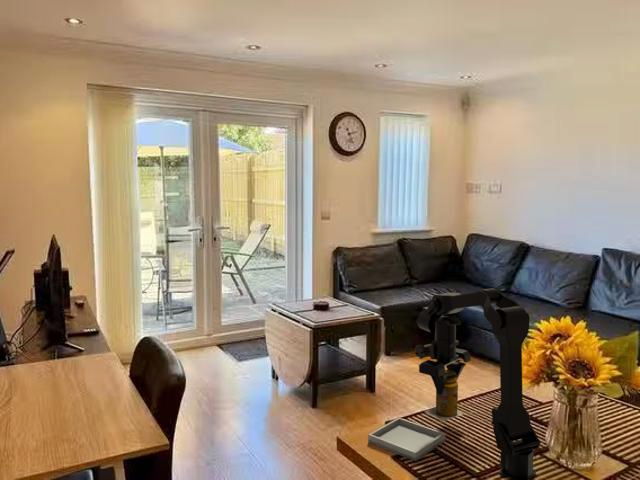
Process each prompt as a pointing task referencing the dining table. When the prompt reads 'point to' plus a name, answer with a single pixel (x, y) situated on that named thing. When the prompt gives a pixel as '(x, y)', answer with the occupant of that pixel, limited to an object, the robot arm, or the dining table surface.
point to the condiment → (447, 399)
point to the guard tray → (406, 438)
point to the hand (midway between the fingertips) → (445, 390)
